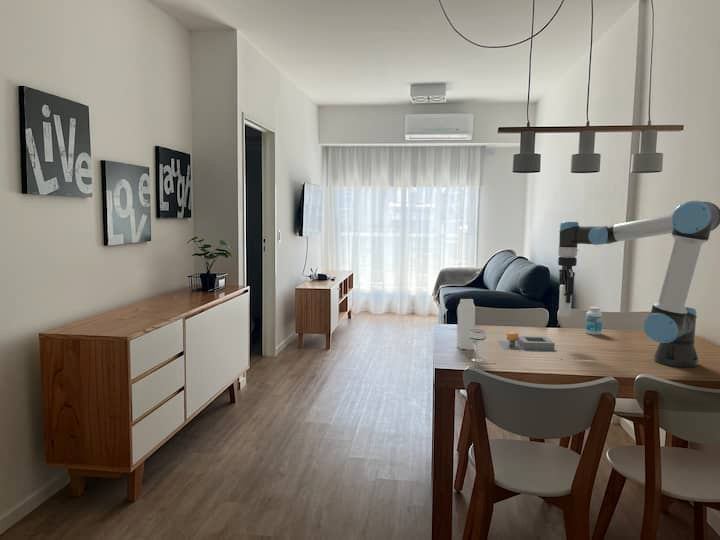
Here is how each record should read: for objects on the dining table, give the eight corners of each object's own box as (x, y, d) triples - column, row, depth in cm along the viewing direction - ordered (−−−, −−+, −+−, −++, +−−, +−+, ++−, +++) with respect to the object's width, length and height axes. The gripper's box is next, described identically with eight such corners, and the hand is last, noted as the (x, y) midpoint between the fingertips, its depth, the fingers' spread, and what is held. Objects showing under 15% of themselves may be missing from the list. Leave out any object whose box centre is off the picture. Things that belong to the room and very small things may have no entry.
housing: (556, 353, 221) (556, 344, 221) (504, 351, 223) (504, 342, 223) (545, 344, 237) (546, 335, 237) (497, 343, 239) (497, 334, 239)
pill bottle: (581, 332, 264) (583, 306, 262) (592, 331, 267) (593, 305, 266) (594, 335, 257) (595, 308, 256) (604, 334, 260) (606, 308, 259)
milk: (456, 346, 232) (457, 298, 230) (470, 346, 232) (471, 297, 231) (460, 349, 226) (461, 300, 224) (474, 349, 226) (475, 299, 224)
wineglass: (482, 357, 213) (483, 329, 212) (487, 362, 206) (488, 332, 205) (466, 357, 212) (467, 329, 211) (470, 362, 206) (471, 332, 205)
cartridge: (572, 317, 227) (573, 286, 226) (560, 317, 227) (562, 285, 226) (568, 315, 232) (570, 284, 231) (557, 315, 232) (558, 284, 231)
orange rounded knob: (519, 341, 228) (519, 334, 227) (508, 340, 228) (508, 334, 228) (516, 338, 233) (516, 332, 232) (505, 338, 233) (505, 331, 233)
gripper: (583, 258, 218) (580, 312, 220) (569, 255, 236) (567, 305, 238) (565, 258, 218) (562, 312, 221) (552, 255, 236) (550, 305, 239)
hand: (564, 308), depth 229 cm, fingers closed on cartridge, 5 cm apart
